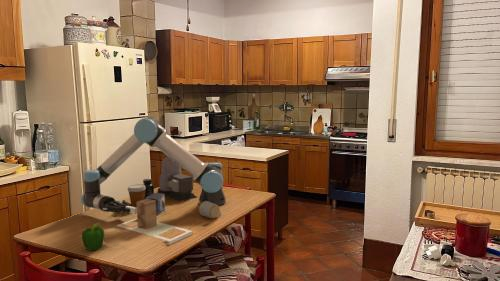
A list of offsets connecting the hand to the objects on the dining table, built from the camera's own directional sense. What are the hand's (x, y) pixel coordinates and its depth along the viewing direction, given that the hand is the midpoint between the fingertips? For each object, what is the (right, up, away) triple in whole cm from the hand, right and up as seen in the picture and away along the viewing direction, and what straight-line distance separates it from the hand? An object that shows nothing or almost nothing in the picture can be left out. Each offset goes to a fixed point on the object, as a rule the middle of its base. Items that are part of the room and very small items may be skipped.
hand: (135, 211), depth 178 cm
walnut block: (+6, -7, -3) cm, 10 cm away
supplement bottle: (-7, -2, +46) cm, 46 cm away
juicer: (+8, -1, +56) cm, 57 cm away
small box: (+5, -6, +17) cm, 19 cm away
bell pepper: (-10, -11, -23) cm, 28 cm away
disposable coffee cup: (-8, -4, +31) cm, 32 cm away
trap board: (+10, -8, -5) cm, 14 cm away
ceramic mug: (+34, -6, +15) cm, 38 cm away
